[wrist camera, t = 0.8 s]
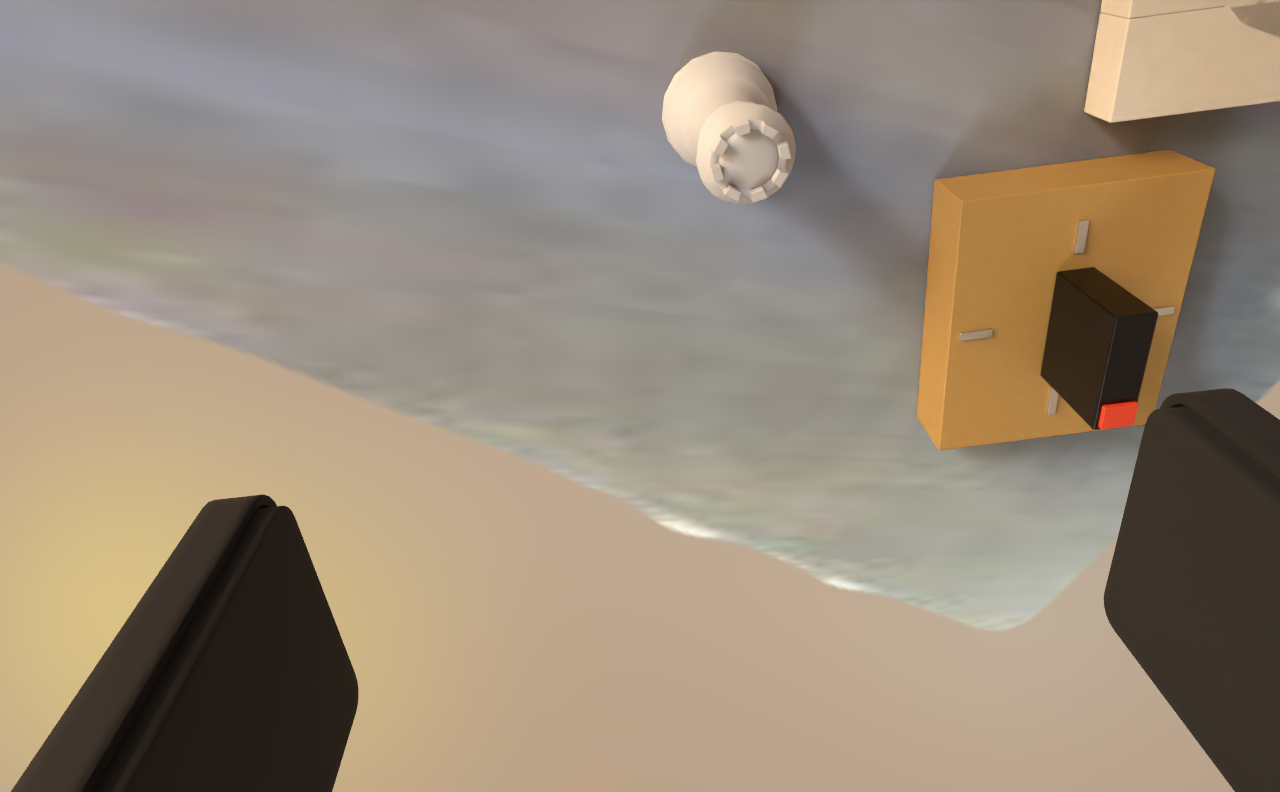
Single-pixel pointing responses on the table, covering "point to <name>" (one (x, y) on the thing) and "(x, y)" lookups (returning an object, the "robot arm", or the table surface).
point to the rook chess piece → (729, 127)
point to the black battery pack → (1097, 347)
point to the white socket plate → (1183, 57)
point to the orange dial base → (1045, 283)
